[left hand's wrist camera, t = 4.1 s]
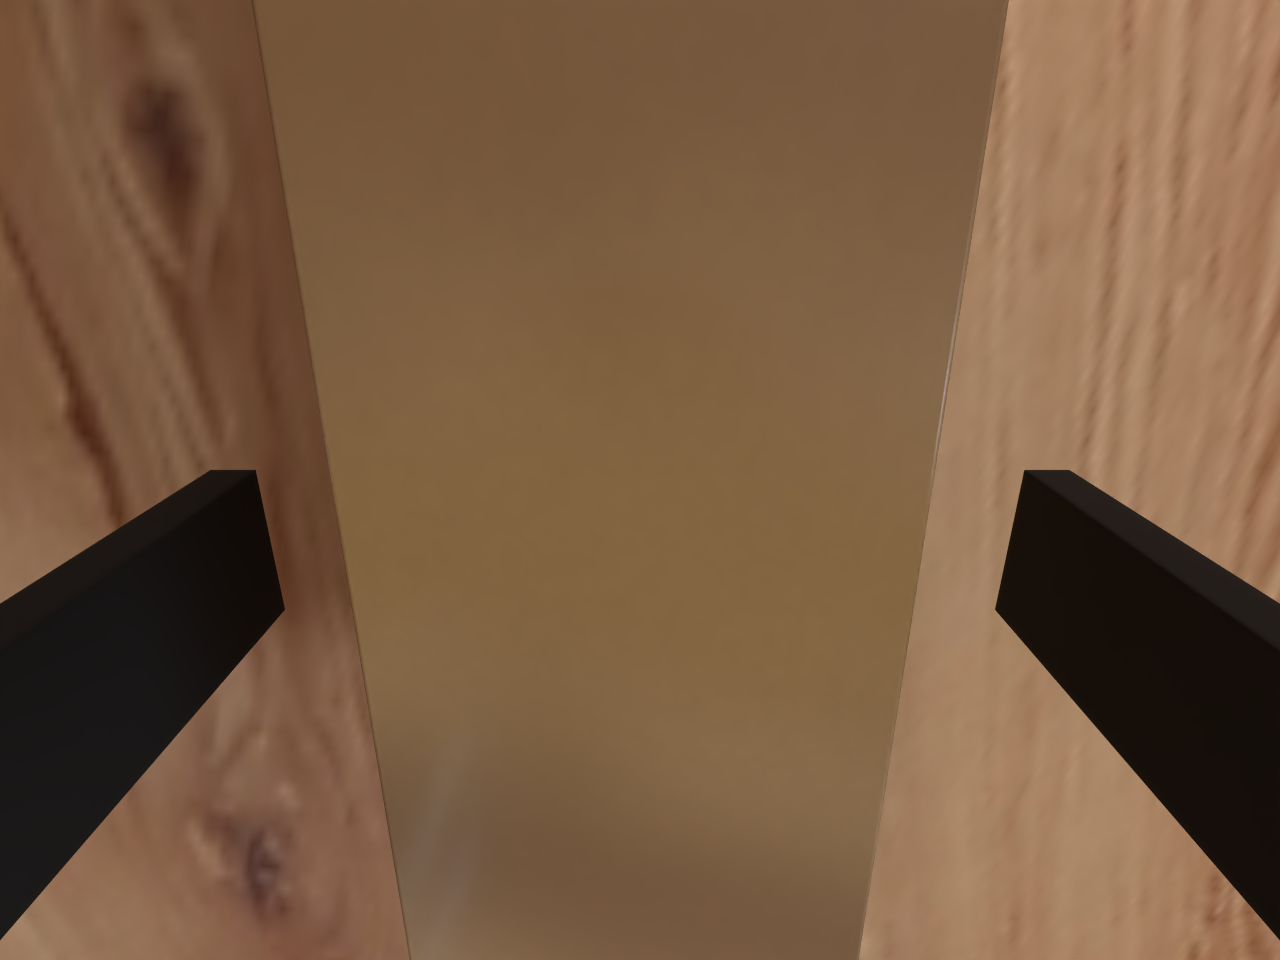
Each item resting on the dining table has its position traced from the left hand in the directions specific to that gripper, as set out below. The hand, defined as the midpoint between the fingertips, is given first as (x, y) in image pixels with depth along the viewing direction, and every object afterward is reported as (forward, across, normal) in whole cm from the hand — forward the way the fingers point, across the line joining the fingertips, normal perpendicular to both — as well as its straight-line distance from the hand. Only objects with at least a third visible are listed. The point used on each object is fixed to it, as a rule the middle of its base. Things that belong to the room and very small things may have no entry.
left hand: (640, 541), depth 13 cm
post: (+3, 0, -21) cm, 21 cm away
